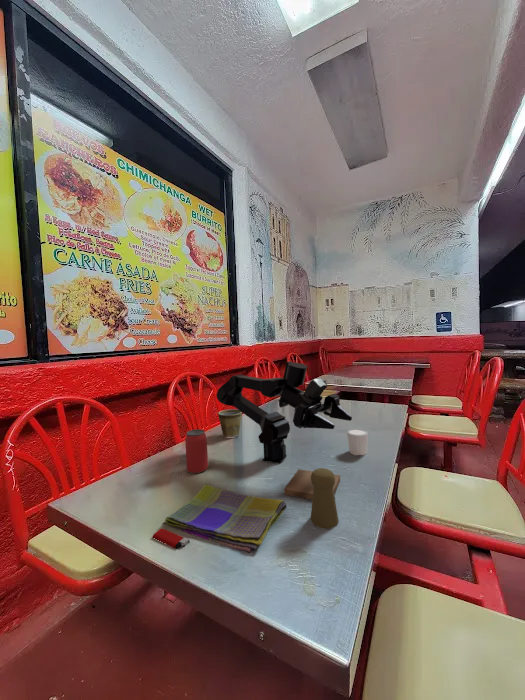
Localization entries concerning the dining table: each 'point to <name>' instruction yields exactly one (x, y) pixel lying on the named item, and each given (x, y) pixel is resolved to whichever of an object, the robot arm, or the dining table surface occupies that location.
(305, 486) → the walnut board
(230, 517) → the dish towel
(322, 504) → the olive brown peg figure
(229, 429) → the ceramic cup
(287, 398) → the robot arm
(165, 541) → the lighter
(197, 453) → the beer can
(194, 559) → the dining table surface
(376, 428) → the dining table surface
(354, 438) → the white cylinder
